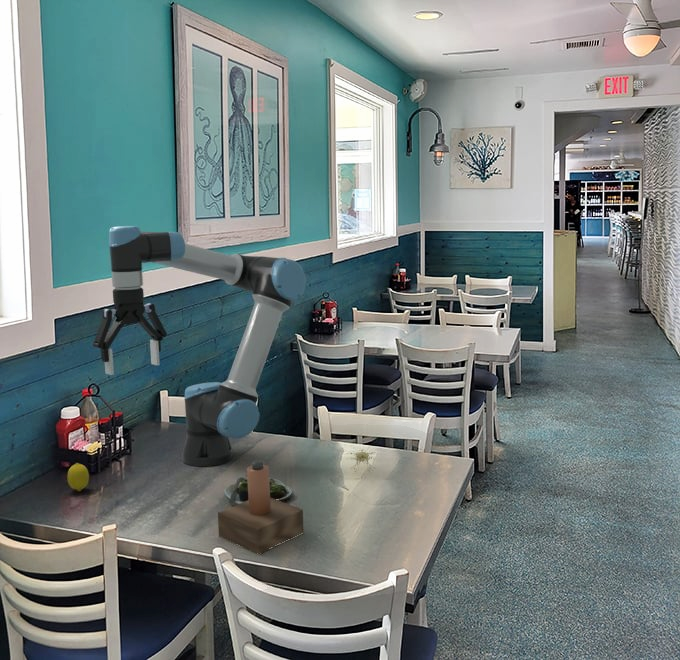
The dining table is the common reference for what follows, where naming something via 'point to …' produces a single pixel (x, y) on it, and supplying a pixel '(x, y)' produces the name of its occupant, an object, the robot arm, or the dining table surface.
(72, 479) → the lemon
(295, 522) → the walnut block
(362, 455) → the beige splat shape
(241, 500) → the salad plate
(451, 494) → the dining table surface
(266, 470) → the sauce bottle
